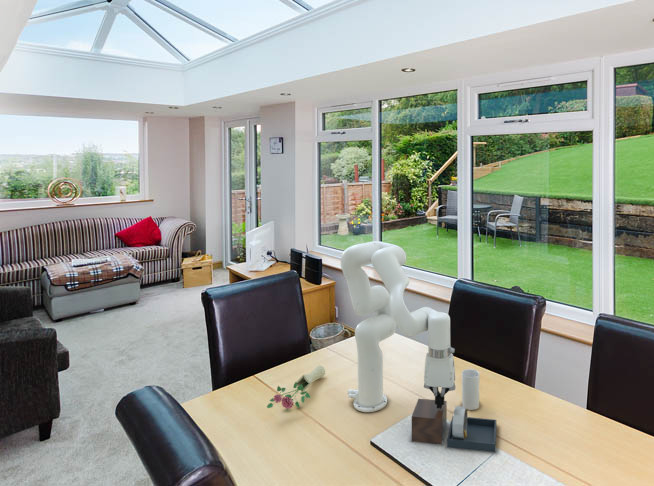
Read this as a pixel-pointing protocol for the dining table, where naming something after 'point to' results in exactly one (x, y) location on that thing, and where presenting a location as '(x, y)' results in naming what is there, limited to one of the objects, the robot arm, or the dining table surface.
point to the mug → (470, 389)
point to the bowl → (459, 422)
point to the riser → (429, 422)
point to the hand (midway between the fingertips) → (439, 406)
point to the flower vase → (298, 388)
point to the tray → (476, 435)
